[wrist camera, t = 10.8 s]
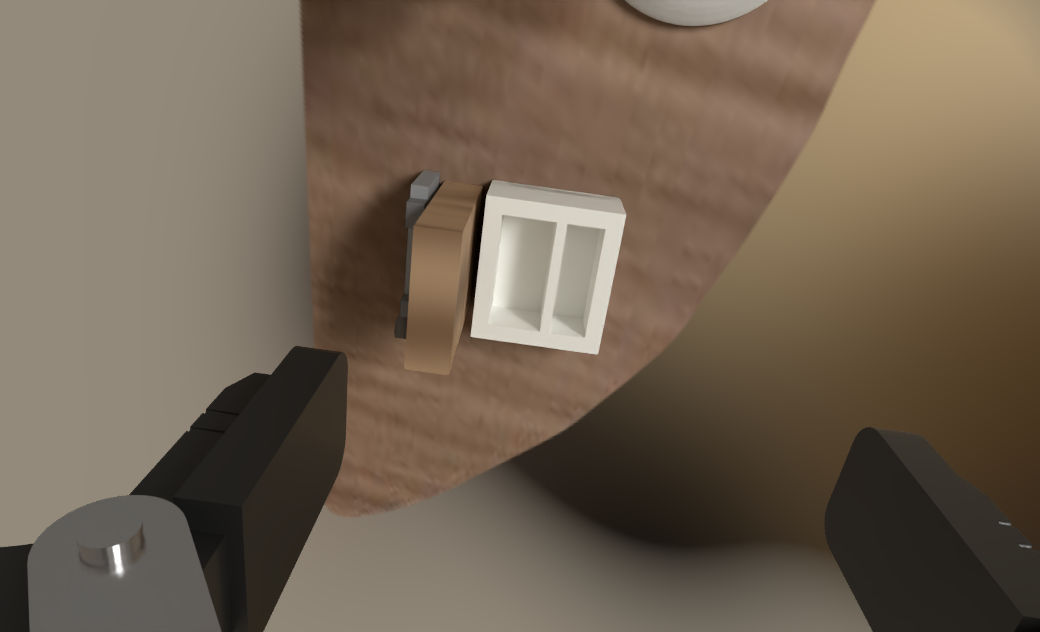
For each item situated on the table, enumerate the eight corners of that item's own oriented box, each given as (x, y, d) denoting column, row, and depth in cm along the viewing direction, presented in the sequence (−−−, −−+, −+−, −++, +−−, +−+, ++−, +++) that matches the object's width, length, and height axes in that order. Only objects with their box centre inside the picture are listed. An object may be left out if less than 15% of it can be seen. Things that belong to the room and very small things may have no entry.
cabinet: (423, 170, 41) (407, 188, 36) (619, 197, 41) (628, 219, 37) (414, 302, 45) (398, 334, 40) (594, 327, 45) (598, 362, 40)
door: (428, 178, 41) (393, 223, 32) (482, 186, 41) (462, 232, 32) (420, 296, 44) (385, 366, 35) (470, 303, 45) (448, 375, 35)
